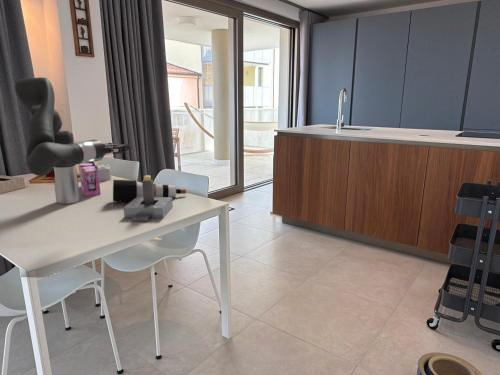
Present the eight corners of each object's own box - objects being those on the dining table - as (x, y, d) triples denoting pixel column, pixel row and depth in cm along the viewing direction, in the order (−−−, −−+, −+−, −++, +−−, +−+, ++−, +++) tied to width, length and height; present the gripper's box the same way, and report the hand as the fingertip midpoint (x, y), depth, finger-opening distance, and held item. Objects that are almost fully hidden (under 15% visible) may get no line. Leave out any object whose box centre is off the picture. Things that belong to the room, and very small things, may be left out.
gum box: (101, 195, 178) (98, 168, 175) (84, 197, 175) (81, 170, 171) (96, 185, 199) (93, 161, 195) (80, 186, 195) (77, 162, 191)
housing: (120, 221, 141) (119, 210, 139) (140, 203, 164) (140, 194, 163) (160, 221, 140) (159, 211, 139) (174, 204, 163) (174, 194, 162)
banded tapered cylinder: (185, 205, 176) (188, 190, 170) (112, 205, 163) (113, 189, 157) (182, 192, 183) (185, 177, 177) (112, 191, 170) (113, 175, 164)
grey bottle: (142, 213, 150) (140, 177, 146) (146, 210, 154) (143, 175, 150) (153, 213, 150) (150, 177, 146) (156, 210, 154) (153, 175, 150)
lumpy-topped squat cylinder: (93, 182, 206) (92, 167, 203) (91, 177, 216) (89, 164, 214) (112, 180, 211) (111, 165, 209) (108, 176, 222) (107, 162, 219)
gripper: (101, 141, 117) (134, 137, 131) (70, 139, 122) (104, 135, 136) (103, 164, 119) (135, 156, 133) (72, 161, 124) (106, 154, 138)
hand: (120, 146), depth 135 cm, fingers open, 8 cm apart
